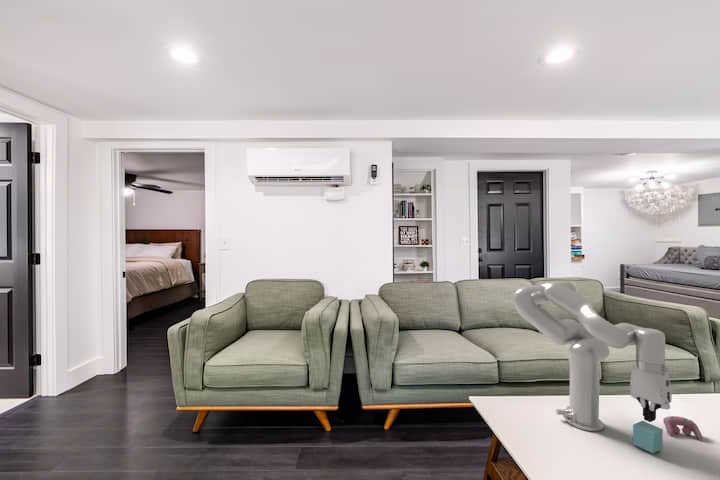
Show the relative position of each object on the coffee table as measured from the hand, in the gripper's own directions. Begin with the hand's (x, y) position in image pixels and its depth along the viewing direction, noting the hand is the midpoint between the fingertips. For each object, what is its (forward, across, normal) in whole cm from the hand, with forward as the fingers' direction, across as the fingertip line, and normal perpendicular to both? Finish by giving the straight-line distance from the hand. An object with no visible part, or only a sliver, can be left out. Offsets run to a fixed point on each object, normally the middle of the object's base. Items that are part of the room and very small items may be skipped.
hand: (649, 420), depth 114 cm
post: (+10, 0, 0) cm, 10 cm away
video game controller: (+10, 0, -22) cm, 24 cm away
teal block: (+9, 0, 0) cm, 9 cm away
